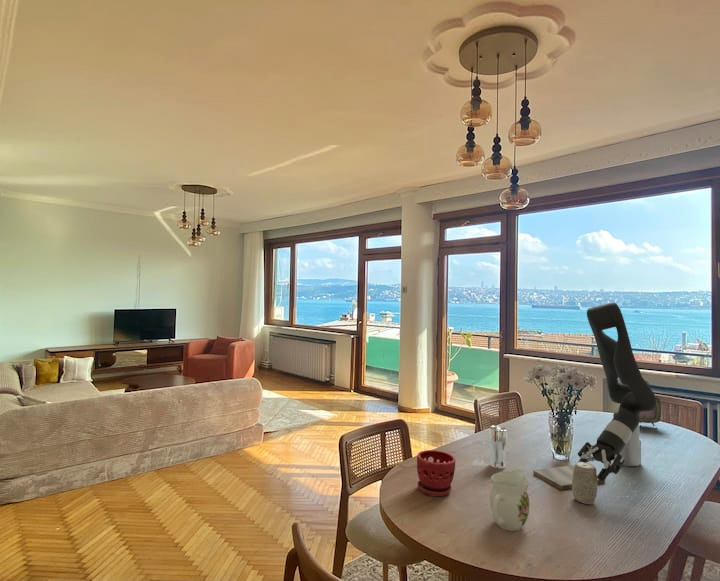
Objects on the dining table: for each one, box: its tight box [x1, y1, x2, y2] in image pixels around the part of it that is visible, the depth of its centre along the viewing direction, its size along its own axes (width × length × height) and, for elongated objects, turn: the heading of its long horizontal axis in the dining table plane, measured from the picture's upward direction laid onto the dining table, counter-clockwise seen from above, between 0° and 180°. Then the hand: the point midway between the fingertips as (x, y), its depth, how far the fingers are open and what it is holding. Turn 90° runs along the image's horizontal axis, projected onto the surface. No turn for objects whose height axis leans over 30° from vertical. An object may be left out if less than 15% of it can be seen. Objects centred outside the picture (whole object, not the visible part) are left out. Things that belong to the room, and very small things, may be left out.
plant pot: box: [416, 449, 456, 497], centre depth 148 cm, size 13×13×12 cm
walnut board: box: [532, 464, 606, 491], centre depth 160 cm, size 20×14×2 cm
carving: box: [571, 461, 599, 505], centre depth 142 cm, size 6×8×12 cm
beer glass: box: [488, 425, 508, 470], centre depth 171 cm, size 7×7×15 cm
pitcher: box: [489, 469, 530, 532], centre depth 125 cm, size 11×18×14 cm, turn 137°
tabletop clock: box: [639, 380, 662, 427], centre depth 230 cm, size 14×9×25 cm, turn 81°
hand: (588, 474), depth 142 cm, fingers open, 8 cm apart
